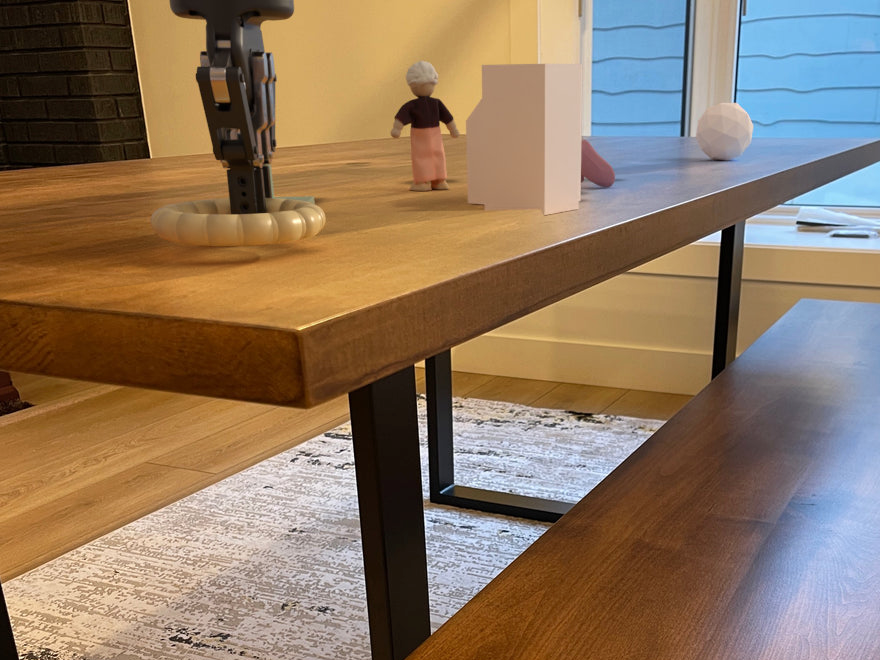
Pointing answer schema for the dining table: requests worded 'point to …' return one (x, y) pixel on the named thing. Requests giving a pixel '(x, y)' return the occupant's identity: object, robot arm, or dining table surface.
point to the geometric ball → (724, 131)
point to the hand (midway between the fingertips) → (253, 224)
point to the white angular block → (526, 138)
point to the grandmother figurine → (425, 128)
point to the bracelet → (237, 223)
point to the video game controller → (595, 166)
